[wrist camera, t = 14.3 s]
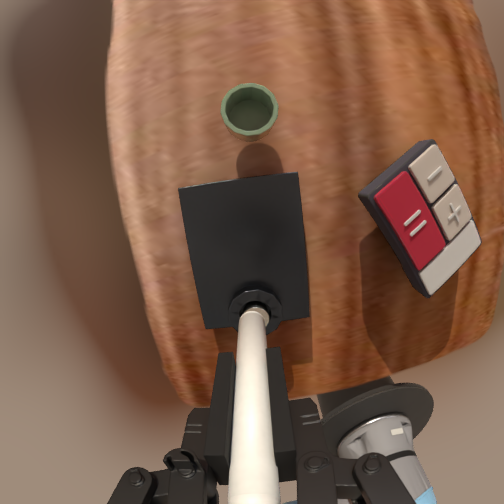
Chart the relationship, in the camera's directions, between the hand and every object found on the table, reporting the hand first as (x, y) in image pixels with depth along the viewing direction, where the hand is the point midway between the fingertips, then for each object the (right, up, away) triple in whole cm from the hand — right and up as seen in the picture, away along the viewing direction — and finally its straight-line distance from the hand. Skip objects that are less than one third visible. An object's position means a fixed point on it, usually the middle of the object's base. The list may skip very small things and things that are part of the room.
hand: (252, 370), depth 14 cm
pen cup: (0, +20, +12) cm, 23 cm away
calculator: (+20, +11, +15) cm, 27 cm away
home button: (0, 0, +15) cm, 15 cm away
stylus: (0, +2, +6) cm, 6 cm away
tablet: (0, +6, +16) cm, 17 cm away
